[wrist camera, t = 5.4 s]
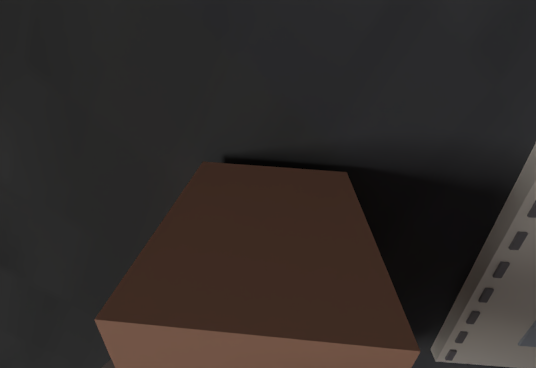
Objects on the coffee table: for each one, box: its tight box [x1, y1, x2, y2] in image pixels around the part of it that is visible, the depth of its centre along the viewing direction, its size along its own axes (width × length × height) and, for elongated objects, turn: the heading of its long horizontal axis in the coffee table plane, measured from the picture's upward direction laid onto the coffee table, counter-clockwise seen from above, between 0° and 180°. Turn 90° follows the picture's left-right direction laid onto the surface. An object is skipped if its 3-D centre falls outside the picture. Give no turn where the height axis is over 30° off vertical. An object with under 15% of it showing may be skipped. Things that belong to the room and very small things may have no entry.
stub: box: [94, 162, 420, 368], centre depth 9 cm, size 10×5×6 cm, turn 177°
